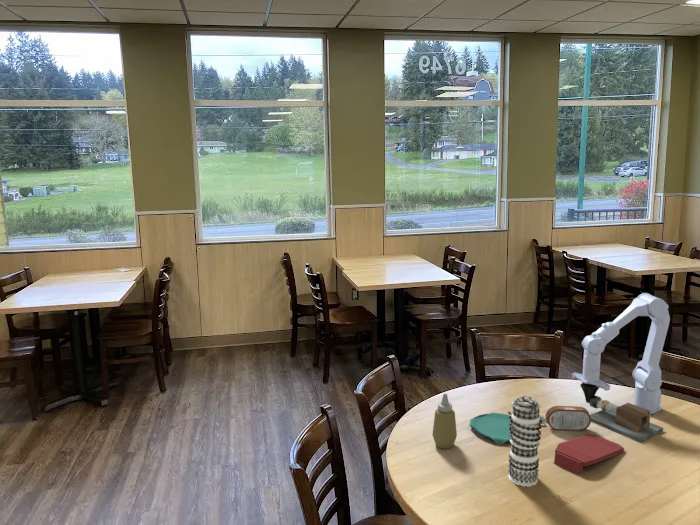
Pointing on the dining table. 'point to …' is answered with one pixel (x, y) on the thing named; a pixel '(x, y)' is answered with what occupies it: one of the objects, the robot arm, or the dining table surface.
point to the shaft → (602, 404)
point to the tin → (568, 418)
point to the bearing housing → (628, 422)
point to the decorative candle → (524, 441)
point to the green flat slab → (494, 426)
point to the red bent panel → (584, 452)
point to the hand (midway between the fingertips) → (589, 402)
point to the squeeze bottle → (444, 424)
